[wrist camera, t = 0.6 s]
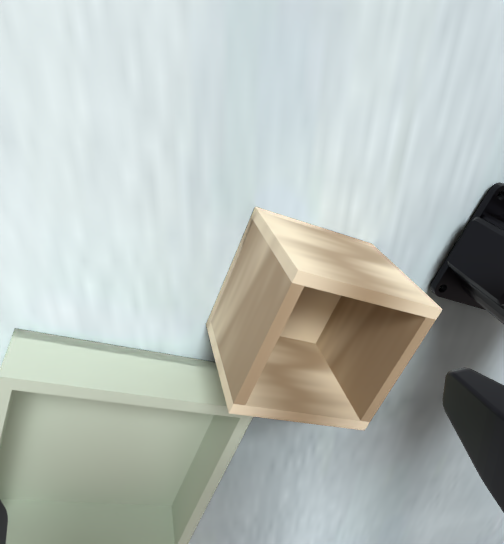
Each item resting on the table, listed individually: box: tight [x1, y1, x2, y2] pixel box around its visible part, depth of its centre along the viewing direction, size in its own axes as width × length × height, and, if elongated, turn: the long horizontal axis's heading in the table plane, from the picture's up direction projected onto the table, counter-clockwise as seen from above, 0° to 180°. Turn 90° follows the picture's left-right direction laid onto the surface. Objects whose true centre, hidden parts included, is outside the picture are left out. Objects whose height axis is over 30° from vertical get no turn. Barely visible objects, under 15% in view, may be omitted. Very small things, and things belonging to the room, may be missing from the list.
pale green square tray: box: [0, 328, 253, 544], centre depth 23 cm, size 11×11×3 cm
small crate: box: [206, 207, 443, 430], centre depth 20 cm, size 6×6×6 cm
